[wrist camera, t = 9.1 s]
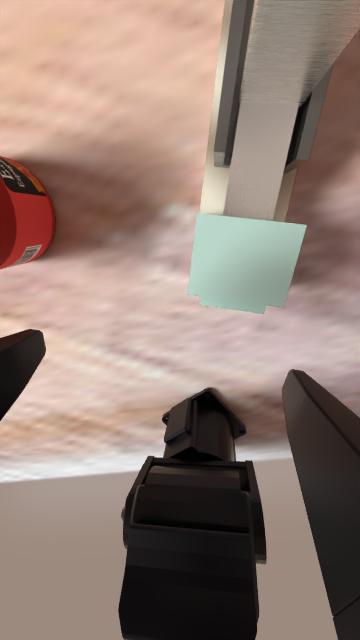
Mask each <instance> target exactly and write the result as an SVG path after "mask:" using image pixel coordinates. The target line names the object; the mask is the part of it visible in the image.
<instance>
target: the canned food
mask: <svg viewBox="0 0 360 640" xmlns="http://www.w3.org/2000/svg"><path fill="white" fill-rule="evenodd" d="M55 221H56V220H55V212H54V208H53V204H52V201H51V198H50V196H49V194H48V192H47V190H46V189H45V187H44V186H43V184H42V183H41V182H40V181H39V179H38V178H37V177H36V176H35V175H34V174H32V173H31V172H30V171H29V170H27V169H26V168H25V167H23V166H22V165H21V164H19V163H17V162H15V161H13V160H11V159H8V158H4V157H1V156H0V269H3V268H7V267H11V266H15V265H19V264H23V263H28V262H30V261H32V260H34V259H36V258H37V257H38V256H40V255H41V254H42V253H43V252H44V251H46V249H47V248H48V247H49V245H50V243H51V241H52V239H53V236H54V232H55Z"/></svg>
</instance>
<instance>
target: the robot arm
mask: <svg viewBox="0 0 360 640" xmlns="http://www.w3.org/2000/svg"><path fill="white" fill-rule="evenodd" d="M45 352H46V347H45V342H44V337H43V333H42V332H41V331H40V330H33V329H28V330H25V331H21V332H18V333H15V334H12V335H9V336H6V337H2V338H0V421H1V420H2V418H3V417H4V416H5V414H6V413H7V412H8V410H9V409H10V408H11V406H12V405H13V404H14V402H15V401H16V400H17V398H18V397H19V396H20V394H21V393H22V391H23V390H24V388H25V387H26V385H27V384H28V382H29V380H30V379H31V377H32V375H33V374H34V372H35V370H36V369H37V367H38V365H39V364H40V362H41V360H42V359H43V357H44V355H45ZM206 393H209V395H206ZM282 397H283V404H284V412H285V420H286V428H287V434H288V438H289V443H290V447H291V451H292V455H293V459H294V463H295V467H296V471H297V475H298V479H299V483H300V487H301V491H302V495H303V499H304V503H305V507H306V511H307V515H308V519H309V523H310V527H311V531H312V535H313V539H314V543H315V548H316V551H317V556H318V560H319V564H320V567H321V571H322V576H323V580H324V584H325V588H326V592H327V596H328V600H329V604H330V608H331V612H332V615H333V616H334V617H333V621H334V625H335V629H336V633H337V637H338V640H360V418H359V417H358V416H357V415H356V414H355V413H353V412H352V411H351V410H350V409H349V408H347V407H346V406H345V405H344V404H343V403H341V402H340V401H339V400H338V399H336V398H335V397H334V396H333V395H332V394H330V393H329V392H328V391H327V390H326V389H324V388H323V387H322V386H321V385H320V384H318V383H317V382H316V381H315V380H313V379H312V378H311V377H310V376H309V375H307V374H306V373H305V372H304V371H300V370H294V369H292V370H290V371H289V372H288V375H287V377H286V380H285V382H284V385H283V388H282ZM166 418H168V419H166ZM162 421H163V422H164V423H165V424H166V425H167V428H166V432H165V436H164V442H165V443H166V446H165V451H164V456H163V458H157V457H154V456H148V457H147V459H146V461H145V463H144V464H143V466H142V468H141V470H140V472H139V474H138V476H137V478H136V480H135V482H134V484H133V486H132V488H131V490H130V492H129V494H128V496H127V498H126V504H125V507H124V508H123V510H122V514H121V518H122V520H123V522H124V523H123V541H124V546H125V548H126V549H127V557H126V566H125V573H124V579H123V585H122V591H121V596H120V602H119V609H118V611H119V619H120V625H121V631H122V636H123V638H124V640H255V638H256V634H257V622H258V618H259V603H258V589H257V575H256V563H258V564H266V538H265V527H264V518H263V511H262V505H261V499H260V494H259V490H258V485H257V481H256V476H255V471H254V467H253V462H252V461H247V460H245V462H240V461H236V454H235V442H234V440H235V439H236V438H238V437H240V436H242V435H244V434H246V427H245V426H244V424H243V423H242V422H241V421H240V420H239V419H238V418H237V417H236V416H235V415H234V414H233V413H232V412H231V411H230V409H229V408H228V407H227V406H226V405H225V404H224V403H223V402H222V401H221V400H220V399H219V398H218V397H217V396H216V395H215V393H214V392H213V391H212V390H210V389H204V390H203V391H201V392H199V393H198V394H196V395H195V396H193V397H191V398H187V399H186V400H184V401H183V402H181V403H179V404H178V405H176V406H174V407H173V408H171V410H170V411H169V412H167V413H165V414H164V415H163V417H162ZM241 429H242V430H241Z"/></svg>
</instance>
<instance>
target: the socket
mask: <svg viewBox="0 0 360 640" xmlns="http://www.w3.org/2000/svg"><path fill="white" fill-rule="evenodd" d="M306 227H307V225H304V224H295V223H285V222H276V221H267V220H258V219H248V218H239V217H230V216H220V215H211V214H202V213H197V218H196V226H195V235H194V243H193V252H192V261H191V269H190V278H189V287H188V295H191V296H198V297H201V301H200V305H202V306H209V307H216V308H224V309H231V310H238V311H245V312H253V313H260V314H264V312H265V308H266V306H272V307H280V308H284V306H285V302H286V299H287V295H288V291H289V288H290V284H291V281H292V277H293V273H294V270H295V266H296V263H297V259H298V255H299V252H300V248H301V245H302V241H303V237H304V234H305V230H306Z"/></svg>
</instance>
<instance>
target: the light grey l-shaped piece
mask: <svg viewBox="0 0 360 640" xmlns="http://www.w3.org/2000/svg"><path fill="white" fill-rule="evenodd" d="M359 29H360V0H254V5H253V11H252V16H251V23H250V29H249V36H248V43H247V49H246V56H245V62H244V69H243V76H242V82H241V89H240V95H239V108H238V115H237V121H236V128H235V134H234V141H233V148H232V154H231V161H230V167H229V174H228V180H227V187H226V193H225V200H224V207H223V213H222V216H230V217H239V218H248V219H258V220H267V221H272V220H273V216H274V212H275V207H276V203H277V198H278V194H279V190H280V185H281V181H282V176H283V172H284V167H285V163H286V159H287V154H288V150H289V145H290V141H291V137H292V132H293V128H294V123H295V119H296V114H297V110H298V106H301V105H302V104H303V103H304V101H305V100H306V99H307V97H308V96H309V95H310V93H311V92H312V91H313V89H314V88H315V87H316V85H317V84H318V83H319V81H320V80H321V79H322V77H323V76H324V75H325V74H326V72H327V71H328V70H329V68H330V67H331V66H332V64H333V63H334V62H335V60H336V59H337V58H338V56H339V55H340V54H341V52H342V51H343V50H344V49H345V47H346V46H347V45H348V43H349V42H350V41H351V39H352V38H353V37H354V35H355V34H356V33H357V31H358V30H359Z"/></svg>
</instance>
